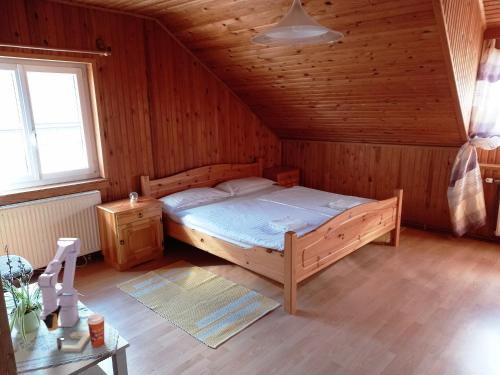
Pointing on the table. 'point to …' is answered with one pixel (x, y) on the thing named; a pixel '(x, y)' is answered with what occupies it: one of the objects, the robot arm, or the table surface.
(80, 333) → the beige u-shaped block
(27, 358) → the table surface
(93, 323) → the paper cup
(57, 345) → the hook post
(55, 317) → the orange rounded cylinder
